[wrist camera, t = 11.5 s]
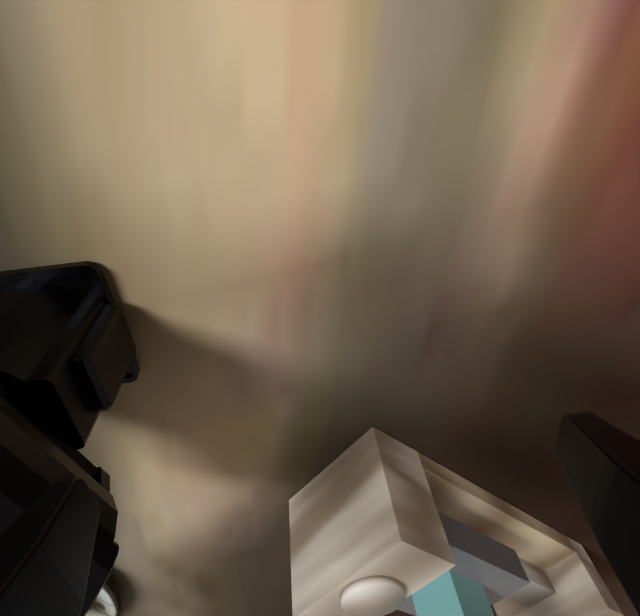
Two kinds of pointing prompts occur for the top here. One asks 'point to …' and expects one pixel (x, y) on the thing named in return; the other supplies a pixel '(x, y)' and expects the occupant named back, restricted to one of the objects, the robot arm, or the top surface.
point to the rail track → (419, 538)
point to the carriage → (469, 576)
